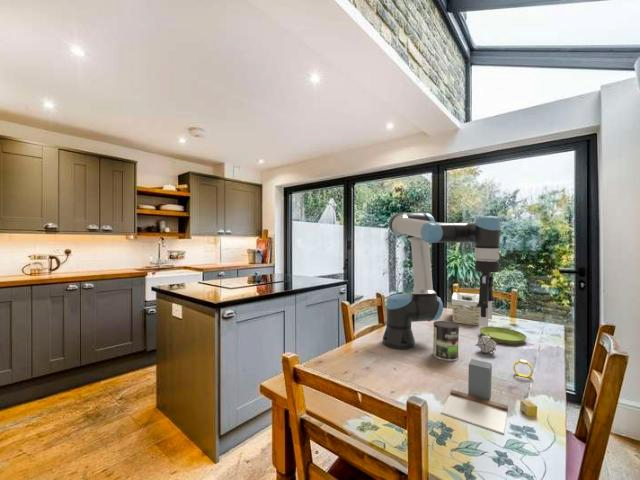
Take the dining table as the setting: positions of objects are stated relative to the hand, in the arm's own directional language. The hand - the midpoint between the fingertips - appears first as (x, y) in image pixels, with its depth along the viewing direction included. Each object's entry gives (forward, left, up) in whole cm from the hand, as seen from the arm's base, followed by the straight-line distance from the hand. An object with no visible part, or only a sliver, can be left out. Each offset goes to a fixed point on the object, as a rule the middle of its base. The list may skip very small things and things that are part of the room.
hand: (485, 322), depth 107 cm
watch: (+11, +15, -22) cm, 29 cm away
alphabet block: (+13, -12, -22) cm, 29 cm away
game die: (-3, +32, -22) cm, 39 cm away
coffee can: (-17, +17, -22) cm, 33 cm away
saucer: (+1, +58, -22) cm, 62 cm away
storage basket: (-20, +84, -22) cm, 89 cm away
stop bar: (0, -15, -22) cm, 27 cm away
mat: (0, -22, -22) cm, 31 cm away
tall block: (0, -11, -22) cm, 25 cm away
